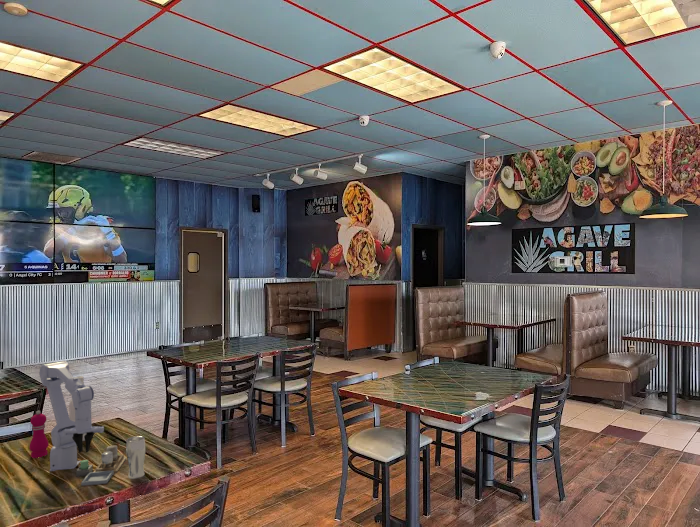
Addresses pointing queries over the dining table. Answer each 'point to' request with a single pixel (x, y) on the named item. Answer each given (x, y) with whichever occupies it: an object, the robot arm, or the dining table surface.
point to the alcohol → (72, 408)
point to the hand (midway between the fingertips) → (84, 451)
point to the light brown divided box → (117, 460)
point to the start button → (84, 464)
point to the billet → (107, 459)
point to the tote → (97, 478)
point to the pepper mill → (38, 436)
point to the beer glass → (135, 456)
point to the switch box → (84, 471)
